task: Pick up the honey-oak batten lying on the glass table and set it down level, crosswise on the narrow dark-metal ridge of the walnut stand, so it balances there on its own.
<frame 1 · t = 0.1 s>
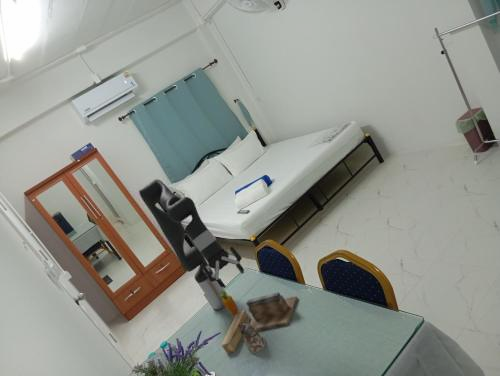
hand: (233, 280, 166), 31 cm above the table, tool tilted 20°, fingers open, 8 cm apart
figurine: (257, 347, 178), on the table
oak batten: (239, 335, 192), on the table
ridge stand: (273, 315, 192), on the table
carrot: (238, 317, 206), on the table
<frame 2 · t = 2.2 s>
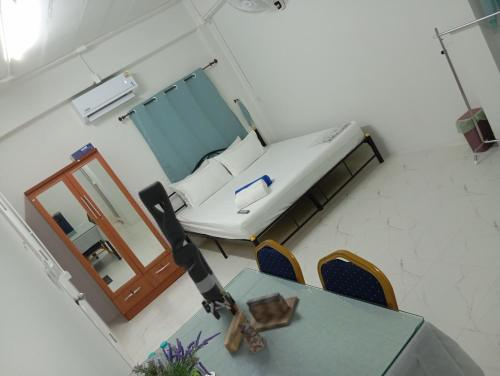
hand: (227, 316, 189), 10 cm above the table, tool pointing down, fingers open, 8 cm apart
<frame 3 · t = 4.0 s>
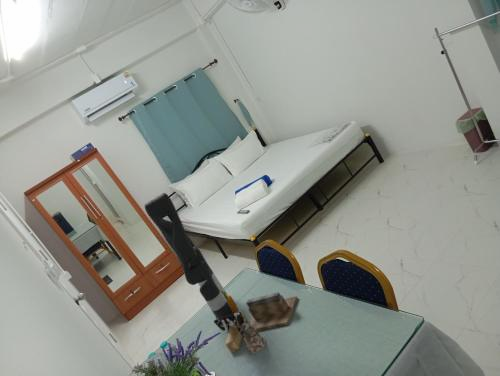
hand: (238, 334, 192), 0 cm above the table, tool pointing down, fingers closed on oak batten, 4 cm apart
oak batten: (239, 335, 192), on the table, touching gripper
everything else where it was.
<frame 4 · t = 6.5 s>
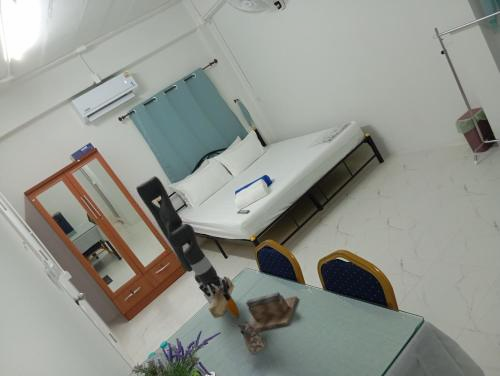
hand: (224, 300, 188), 17 cm above the table, tool pointing down, fingers closed on oak batten, 4 cm apart
oak batten: (224, 301, 188), point 17 cm above the table, touching gripper
everything else where it was.
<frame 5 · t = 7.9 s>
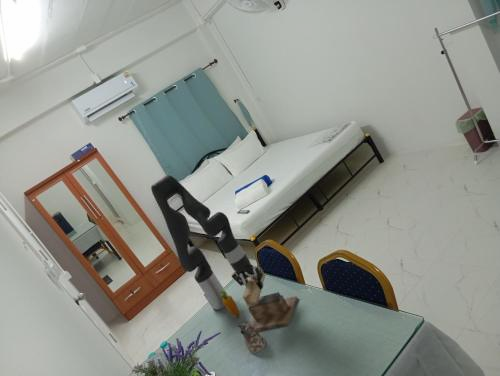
hand: (256, 289, 188), 15 cm above the table, tool pointing down, fingers closed on oak batten, 4 cm apart
oak batten: (257, 290, 188), point 14 cm above the table, touching gripper
everything else where it was.
when the fingers open (11 cm above the table, at t = 9.2 s): oak batten stays where it is, resting on ridge stand.
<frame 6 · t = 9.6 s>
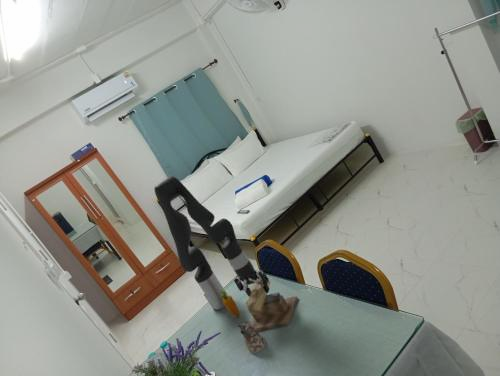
hand: (259, 293, 189), 12 cm above the table, tool pointing down, fingers open, 8 cm apart
oak batten: (261, 297, 189), point 10 cm above the table, touching ridge stand
everything else where it was.
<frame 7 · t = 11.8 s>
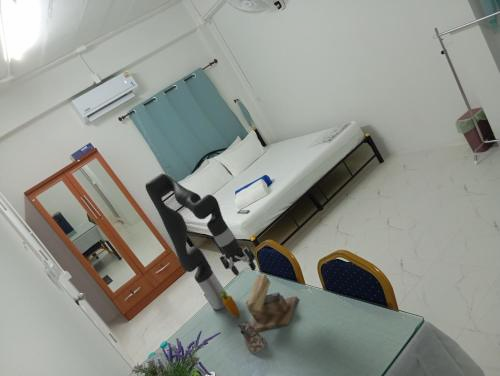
hand: (245, 272, 186), 24 cm above the table, tool pointing down, fingers open, 8 cm apart
nothing on the table moved.
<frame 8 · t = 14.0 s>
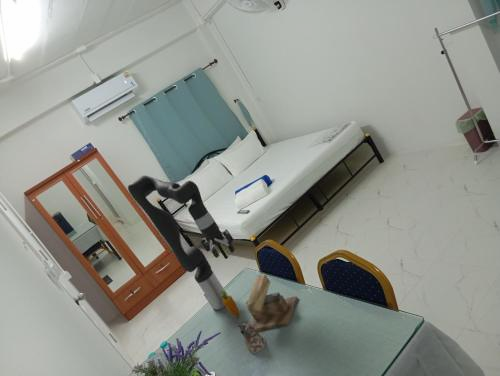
hand: (225, 254, 197), 30 cm above the table, tool pointing down, fingers open, 8 cm apart
nothing on the table moved.
at the end: oak batten 0.1 cm off-centre on the ridge stand, point 10.0 cm above the ridge stand's base; oak batten tilted 0°; the gripper is holding nothing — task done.
